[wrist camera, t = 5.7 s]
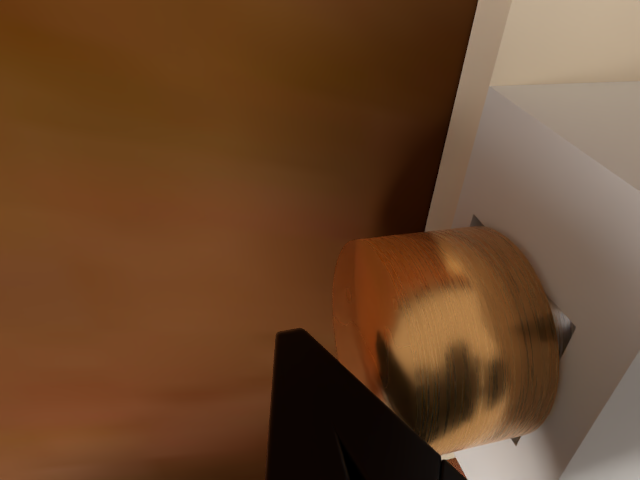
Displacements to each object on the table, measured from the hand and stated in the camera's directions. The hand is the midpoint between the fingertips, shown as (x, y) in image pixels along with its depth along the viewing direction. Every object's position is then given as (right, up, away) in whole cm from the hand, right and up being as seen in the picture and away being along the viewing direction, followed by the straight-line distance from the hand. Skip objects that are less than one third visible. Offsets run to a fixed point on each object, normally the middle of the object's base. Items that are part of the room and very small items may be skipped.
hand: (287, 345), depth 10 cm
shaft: (+7, +2, +3) cm, 8 cm away
